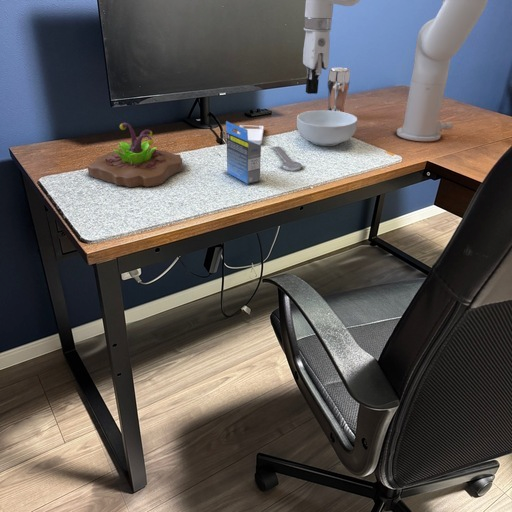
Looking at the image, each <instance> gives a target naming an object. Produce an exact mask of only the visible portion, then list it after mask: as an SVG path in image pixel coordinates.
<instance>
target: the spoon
mask: <svg viewBox="0 0 512 512" xmlns="http://www.w3.org/2000/svg"><path fill="white" fill-rule="evenodd" d="M273 149H274V150H275V152H276V153H277V154H278V155H279V157H280V158H281V159H282V161H283V163H282V169H283V170H285V171H288V172H289V171H290V172H297V171H300V170H301V169H302V163H301V162H298V161H292V160H291V159H290V158H289V157H288V156H287V154H286V153H285V152H284V151H283V149H281V147H280V146H274V147H273Z"/></svg>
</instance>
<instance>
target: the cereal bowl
mask: <svg viewBox="0 0 512 512" xmlns="http://www.w3.org/2000/svg"><path fill="white" fill-rule="evenodd" d="M296 127H297V131H298V134H299V135H300V136H301V137H302V138H304V139H305V140H306V141H309V142H311V144H313V145H316V146H319V147H335V146H337V145H339V144H340V143H341V144H342V143H343V142H346V141H348V140H350V139H351V138H352V137H353V136H354V135H355V133H356V131H357V128H358V117H357V116H356V115H354V114H352V113H349V112H345V111H344V112H340V111H331V110H328V109H319V110H318V109H316V110H307V111H303V112H300V113H299V114H298V115H297V116H296Z"/></svg>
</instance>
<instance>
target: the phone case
mask: <svg viewBox="0 0 512 512" xmlns="http://www.w3.org/2000/svg"><path fill="white" fill-rule="evenodd" d="M238 126H239V127H242V128H244V129H247V131H248V140H249V141H251V142H254V143H256V144H258V145H260V146H262V144H263V137H264V131H265V126H264V125H255V124H253V125H251V124H249V125H248V124H246V125H245V124H240V125H238ZM245 127H247V128H245ZM248 127H253V128H248ZM254 127H255V128H254ZM256 127H257V128H256ZM236 133H238V134H240V132H239V131H238V130H237V131H236Z"/></svg>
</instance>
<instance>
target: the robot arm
mask: <svg viewBox="0 0 512 512" xmlns="http://www.w3.org/2000/svg"><path fill="white" fill-rule="evenodd" d="M360 1H361V0H305V9H304V21H303V31H305V36H304V44H303V53H302V64H303V65H304V66H305V69H306V82H305V93H306V94H308V95H313V94H315V95H317V94H318V92H319V91H318V90H319V83H320V82H319V81H320V76H321V75H322V70H325V71H326V70H328V68H329V63H330V61H329V59H330V32H331V31H332V22H333V21H332V20H333V12H334V5H339V6H343V7H353V6H355V5H357V4H358V3H360ZM488 2H489V0H442V5H441V7H440V8H439V10H438V12H437V14H436V16H435V17H434V18H431V19H430V20H428V21H427V22H425V23H424V24H423V25H422V26H421V28H420V30H419V32H418V35H417V37H416V42H415V43H416V44H415V52H414V60H413V66H412V74H411V79H410V83H409V90H408V96H407V102H406V108H405V113H404V119H403V125H402V126H401V127H398V128H397V129H396V135H397V136H398V137H400V138H402V139H405V140H409V141H414V142H424V143H425V142H437V141H438V140H440V139H441V136H442V133H441V131H443V130H444V131H445V130H446V131H448V130H449V131H450V130H452V128H453V123H452V122H443V121H440V120H439V119H440V116H441V115H440V114H441V110H442V104H443V99H444V95H445V89H446V85H447V82H448V76H449V72H450V71H449V70H450V64H451V58H453V57H454V56H455V55H457V53H458V52H459V51H460V49H461V48H462V46H463V45H464V44H465V42H466V40H467V38H468V37H469V36H470V34H471V32H472V31H473V29H474V27H475V26H476V24H477V23H478V21H479V19H480V18H481V16H482V14H483V13H484V11H485V9H486V6H487V4H488Z"/></svg>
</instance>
